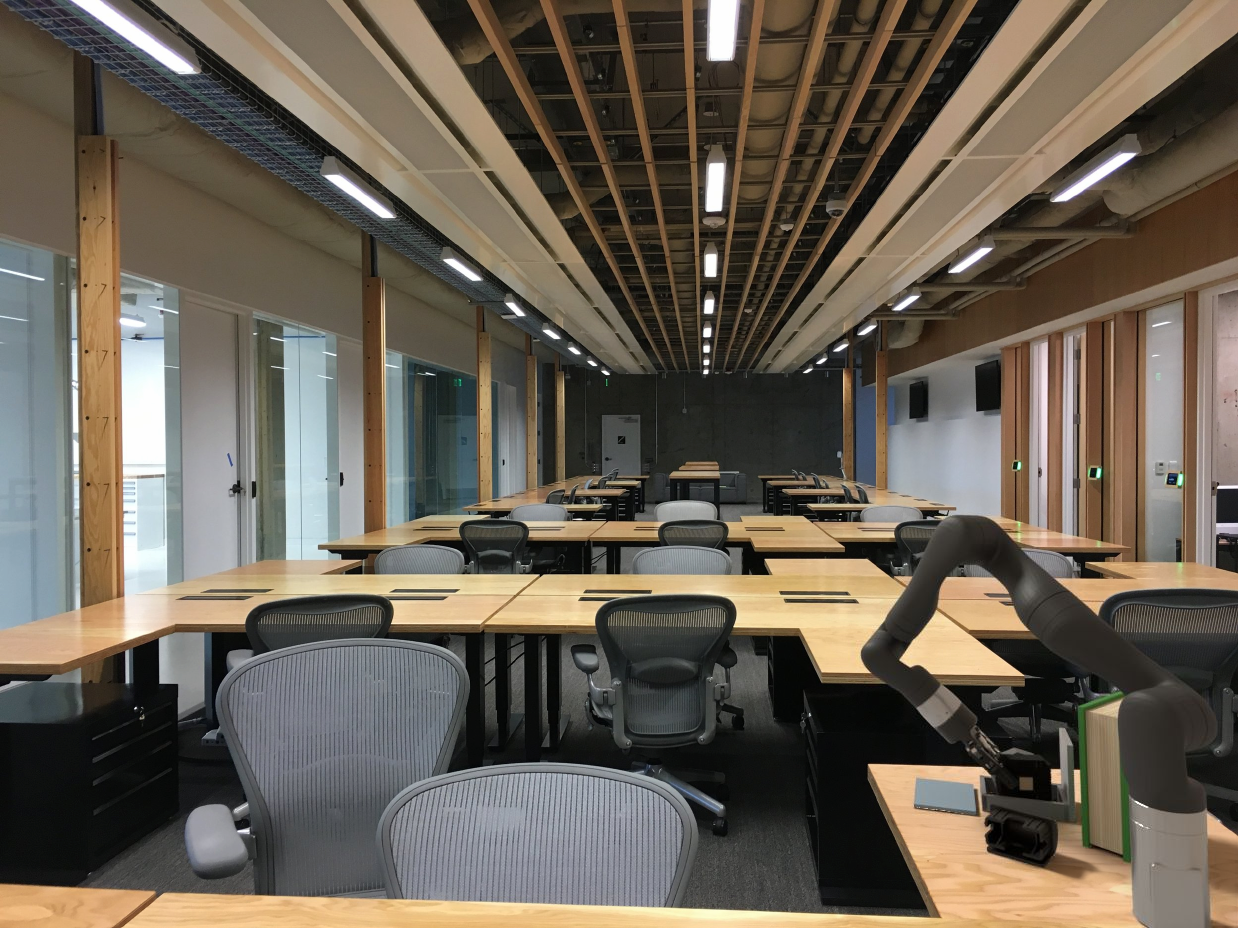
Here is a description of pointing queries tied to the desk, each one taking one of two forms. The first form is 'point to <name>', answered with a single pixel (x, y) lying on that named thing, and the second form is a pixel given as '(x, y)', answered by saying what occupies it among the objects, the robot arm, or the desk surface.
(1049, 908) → the desk surface
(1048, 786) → the cpu cooler
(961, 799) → the rubber mat
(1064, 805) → the open rectangular frame
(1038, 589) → the robot arm
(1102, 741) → the hardback book
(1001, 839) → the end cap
